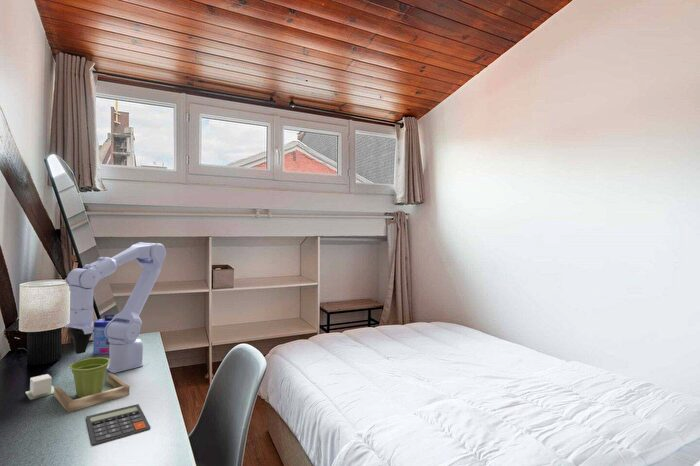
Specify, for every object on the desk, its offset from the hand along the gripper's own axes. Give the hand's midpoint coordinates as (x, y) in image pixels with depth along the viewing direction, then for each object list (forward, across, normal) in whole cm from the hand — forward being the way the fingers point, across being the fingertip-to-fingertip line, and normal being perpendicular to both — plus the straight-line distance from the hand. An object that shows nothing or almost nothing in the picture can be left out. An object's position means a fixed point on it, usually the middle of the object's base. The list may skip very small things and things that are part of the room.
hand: (80, 352), depth 113 cm
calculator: (+10, +33, -1) cm, 34 cm away
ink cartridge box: (+10, -25, +16) cm, 31 cm away
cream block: (+9, 0, -9) cm, 13 cm away
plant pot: (+10, +10, 0) cm, 14 cm away
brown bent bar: (+9, +8, -2) cm, 12 cm away
